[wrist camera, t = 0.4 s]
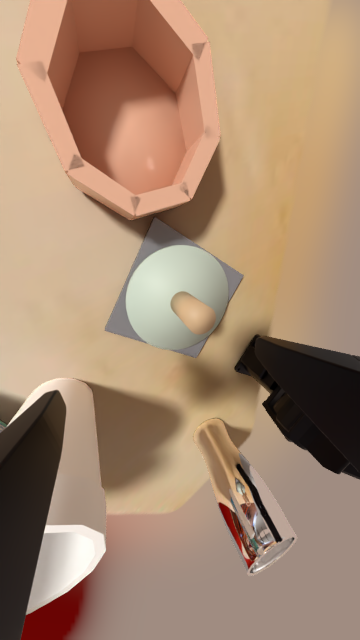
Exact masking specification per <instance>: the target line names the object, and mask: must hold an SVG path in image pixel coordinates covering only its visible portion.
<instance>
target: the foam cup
mask: <svg viewBox="0 0 360 640" xmlns="http://www.w3.org/2000/svg"><path fill="white" fill-rule="evenodd" d="M53 390H59V391H60V393H61V395H62V398H63V400H64V402H65V404H66V420H65V429H64V439H63V447H62V454H61V459H60V463H59V468H58V472H57V477H56V481H55V486H54V490H53V495H52V499H51V504H50V508H49V513H48V517H47V522H46V526H45V531H44V535H43V540H42V544H41V549H40V553H39V558H38V562H37V567H36V571H35V576H34V580H33V585H32V589H31V594H30V598H29V603H28V607H27V612H26V615H27V614H29V613H31V612H33V611H35V610H36V609H38V608H40V607H42V606H44V605H45V604H47V603H49V602H50V601H52V600H54V599H56V598H57V597H59V596H61V595H63V594H64V593H66V592H68V591H69V590H70V589H71V588H72V587H74V586H75V585H76V584H77V583H79V582H80V581H81V580H82V579H83V578H84V577H86V576H87V575H88V574H89V573H90V572H92V571H93V570H94V568H95V567H96V565H97V563H98V562H99V561H100V559H101V557H102V556H103V554H104V553H105V551H106V499H105V491H104V488H102V485H101V475H100V464H99V453H98V442H97V432H96V421H95V410H94V400H93V392H92V390H91V389H90V388H89V386H88V385H87V384H86V383H84V382H82V381H79V380H77V379H74V378H57V379H54V380H50V381H47V382H44V383H43V384H41V385H40V386H39V387H38V388H36V389H35V390H34V391H33V392H32V394H31V395H30V396H29V397H28V398H27V400H26V401H25V402H24V404H23V405H22V406H21V408H20V409H19V410H18V412H17V413H16V415H15V416H14V417H13V419H12V420H11V421H10V423H9V424H11V423H12V422H13V421H14V420H15V419H16V418H17V417H18V416H20V415H21V414H22V413H23V412H24V411H25V410H26V409H27V408H29V407H30V406H31V405H32V404H33V403H34V402H35V401H36V400H38V399H39V398H40V397H41V396H42V395H43V394H44V393H46V392H49V391H53ZM9 424H8V425H9ZM8 425H7V426H8Z"/></svg>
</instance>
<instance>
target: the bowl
mask: <svg viewBox="0 0 360 640" xmlns="http://www.w3.org/2000/svg"><path fill="white" fill-rule="evenodd" d="M207 40H208V37H207V36H206V34H205V33H204V32H203V30H202V29H201V27H200V26H199V25H198V23H197V22H196V21H195V19H194V18H193V17H192V15H191V14H190V12H189V11H188V10H187V8H186V7H185V6H184V4H183V3H182V1H181V0H30V4H29V8H28V12H27V16H26V21H25V25H24V29H23V33H22V37H21V41H20V45H19V49H18V53H17V57H16V60H17V62H18V64H17V66H18V68H19V70H20V73H21V75H22V77H23V79H24V82H25V84H26V86H27V88H28V90H29V93H30V95H31V97H32V99H33V102H34V104H35V106H36V108H37V110H38V113H39V115H40V117H41V119H42V122H43V124H44V126H45V128H46V130H47V133H48V135H49V137H50V139H51V142H52V144H53V146H54V148H55V150H56V153H57V155H58V157H59V159H60V162H61V164H62V166H63V168H64V170H65V172H66V174H67V175H68V177H69V178H70V180H71V182H72V183H73V185H75V187H76V188H77V189H79V190H81V191H82V192H84V193H86V194H87V195H89V196H91V197H92V198H94V199H95V200H97V201H99V202H100V203H102V204H104V205H105V206H107V207H109V208H110V209H112V210H113V211H115V212H117V213H118V214H120V215H122V216H123V217H125V218H127V219H128V220H130V219H131V220H134V219H138V218H141V217H145V216H148V215H152V214H155V213H158V212H162V211H165V210H169V209H172V208H175V207H178V206H180V205H182V204H184V203H186V202H188V201H190V200H191V199H192V198H193V196H194V193H195V191H196V189H197V187H198V185H199V183H200V181H201V179H202V177H203V174H204V172H205V170H206V168H207V166H208V164H209V162H210V160H211V157H212V155H213V153H214V151H215V149H216V147H217V145H218V143H219V141H220V138H219V137H220V136H221V134H220V126H219V117H218V109H217V100H216V92H215V83H214V75H213V66H212V58H211V49H210V42H207Z"/></svg>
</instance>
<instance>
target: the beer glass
mask: <svg viewBox="0 0 360 640" xmlns="http://www.w3.org/2000/svg"><path fill="white" fill-rule="evenodd" d="M193 441H194V443H195V444H196V446H197V447H198V449H199V450H200V452H201V454H202V456H203V458H204V460H205V463H206V465H207V469H208V472H209V476H210V480H211V483H212V487H213V491H214V494H215V498H216V501H217V504H218V507H219V510H220V513H221V516H222V518H223V521H224V523H225V526H226V528H227V530H228V533H229V535H230V537H231V539H232V542H233V544H234V546H235V548H236V550H237V552H238V554H239V556H240V559H241V561H242V563H243V565H244V567H245V569H246V571H247V574H248V575H249V576H253V575H255V574H257V573H260V572H261V571H263V570H264V569H266V568H267V567H269V566H270V565H272V564H273V563H275V562H276V561H277V560H278V559H280V558H281V557H282V556H283V555H284V554H285V553H286V552H287V551H288V550H289V549H290V548H291V547H292V546H293V544H294V543H295V542H296V540H297V535H295V533H294V531H293V529H292V527H291V526H290V524H289V522H288V521H287V519H286V517H285V515H284V513H283V511H282V510H281V508H280V506H279V505H278V503H277V501H276V500H275V498H274V496H273V495H272V493H271V492H270V490H269V488H268V487H267V485H266V484H265V483H264V481H263V479H262V478H261V477H260V476H259V474H258V473H257V472H256V471H255V469H254V468H253V467H252V466H251V464H250V463H249V462H248V461H247V460H246V458H245V457H244V456H243V455H242V454H241V453H240V451H239V450H238V449H237V448H236V446H235V445H234V444H233V442H232V440H231V439H230V437H229V435H228V432H227V430H226V427H225V425H224V423H223V421H222V420H220V419H216V418H214V419H209V420H207V421H205V422H203V423H202V424H201V425H199V426H198V427H197V429H196V430H195V432H194V434H193Z"/></svg>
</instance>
